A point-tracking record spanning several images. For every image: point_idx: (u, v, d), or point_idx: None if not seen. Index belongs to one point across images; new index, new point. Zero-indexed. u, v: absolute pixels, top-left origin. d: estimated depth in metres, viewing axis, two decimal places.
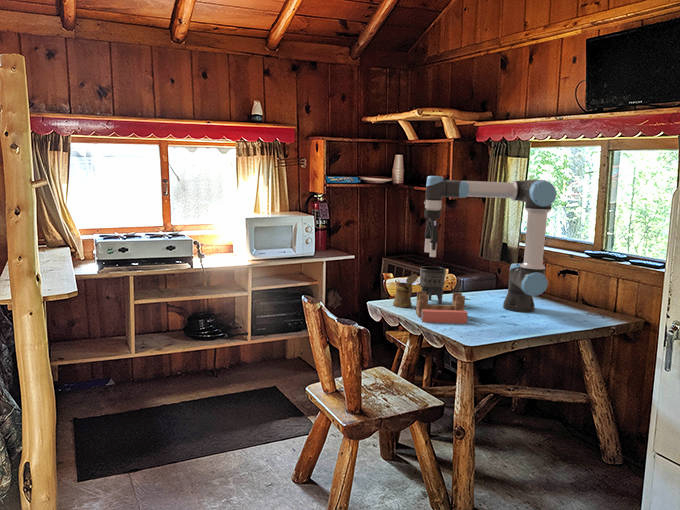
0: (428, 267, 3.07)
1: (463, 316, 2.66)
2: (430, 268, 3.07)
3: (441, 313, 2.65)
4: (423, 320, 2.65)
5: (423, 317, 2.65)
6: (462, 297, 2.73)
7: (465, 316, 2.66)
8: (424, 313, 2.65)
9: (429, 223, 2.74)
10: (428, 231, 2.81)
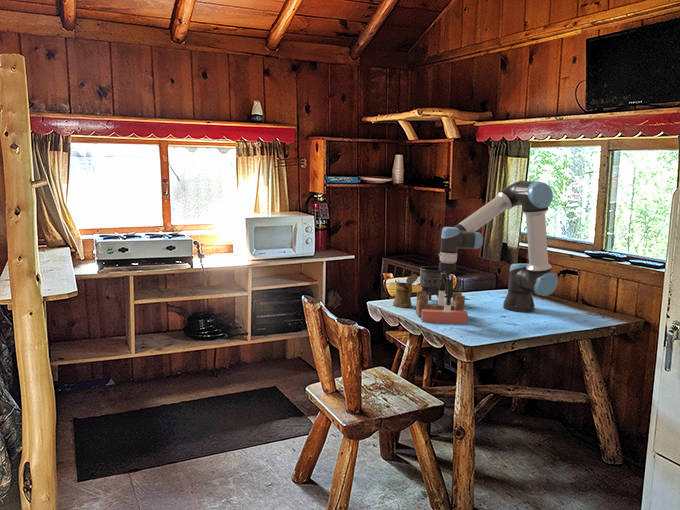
0: (428, 267, 3.07)
1: (463, 316, 2.66)
2: (430, 268, 3.07)
3: (441, 313, 2.65)
4: (423, 320, 2.65)
5: (423, 317, 2.65)
6: (462, 297, 2.73)
7: (465, 316, 2.66)
8: (424, 313, 2.65)
9: (444, 276, 2.62)
10: (442, 283, 2.69)
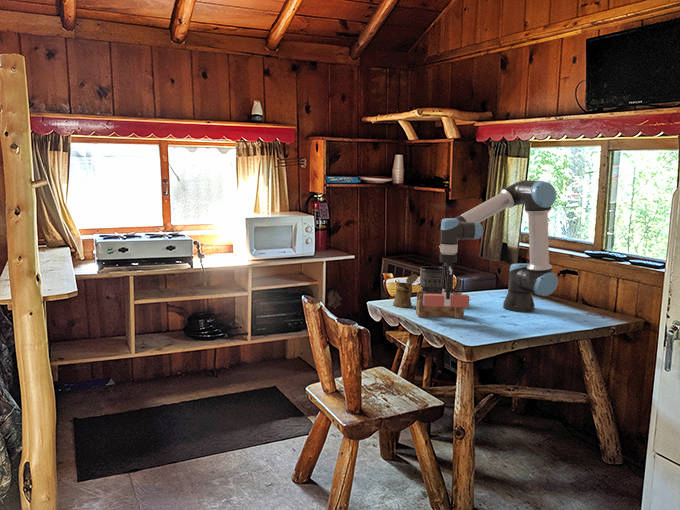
0: (428, 267, 3.07)
1: (465, 300, 2.65)
2: (430, 268, 3.07)
3: (443, 297, 2.64)
4: (425, 304, 2.64)
5: (425, 301, 2.64)
6: None
7: (467, 300, 2.65)
8: (426, 297, 2.64)
9: (445, 269, 2.62)
10: (445, 278, 2.66)
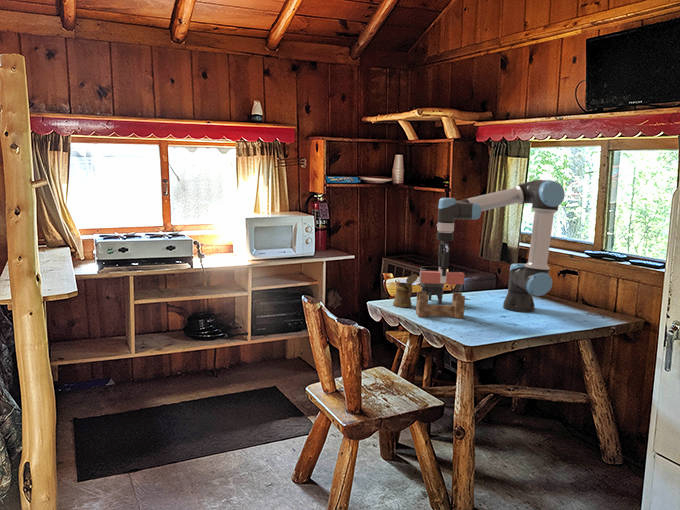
0: (428, 267, 3.07)
1: (460, 277, 2.73)
2: (430, 268, 3.07)
3: (439, 274, 2.72)
4: (421, 281, 2.72)
5: (421, 278, 2.72)
6: (462, 297, 2.73)
7: (462, 277, 2.73)
8: (422, 274, 2.72)
9: (441, 247, 2.70)
10: (441, 256, 2.74)
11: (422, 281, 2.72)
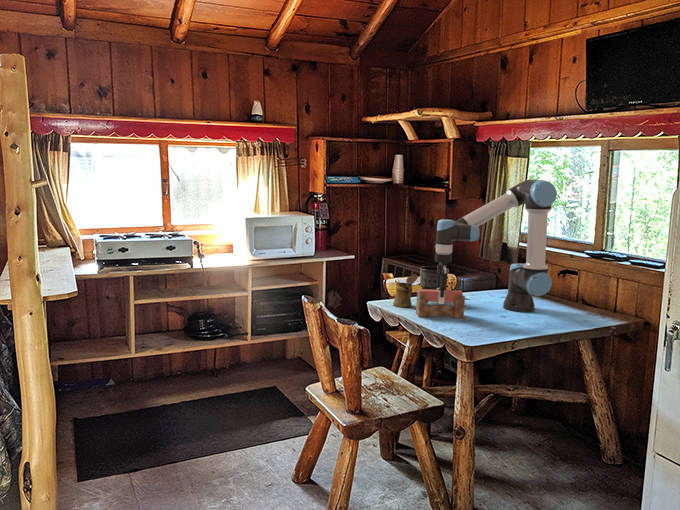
0: (428, 267, 3.07)
1: None
2: (430, 268, 3.07)
3: (437, 293, 2.74)
4: None
5: None
6: (462, 297, 2.73)
7: None
8: (420, 293, 2.74)
9: (440, 268, 2.72)
10: (439, 277, 2.76)
11: None
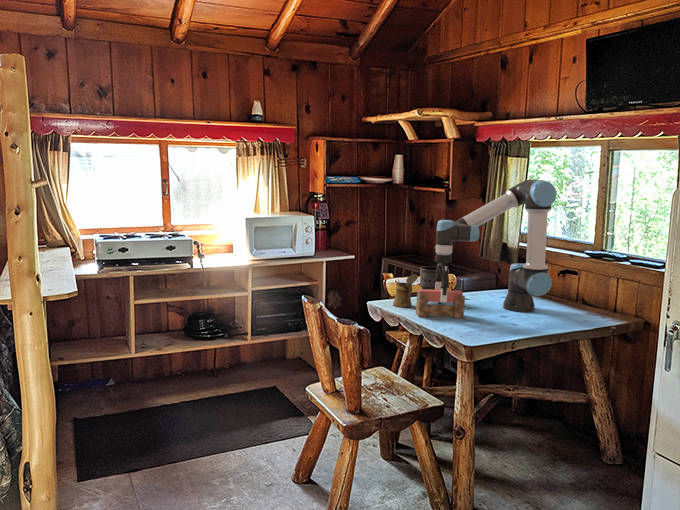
0: (428, 267, 3.07)
1: None
2: (430, 268, 3.07)
3: (437, 293, 2.74)
4: None
5: None
6: (462, 297, 2.73)
7: None
8: (420, 293, 2.74)
9: (440, 268, 2.72)
10: (438, 275, 2.79)
11: None
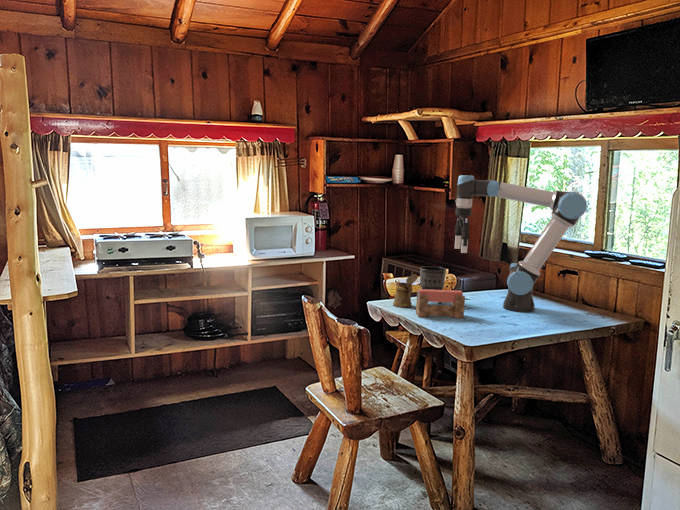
0: (428, 267, 3.07)
1: None
2: (430, 268, 3.07)
3: (437, 293, 2.74)
4: None
5: None
6: (462, 297, 2.73)
7: None
8: (420, 293, 2.74)
9: (460, 220, 2.86)
10: (458, 228, 2.93)
11: None
